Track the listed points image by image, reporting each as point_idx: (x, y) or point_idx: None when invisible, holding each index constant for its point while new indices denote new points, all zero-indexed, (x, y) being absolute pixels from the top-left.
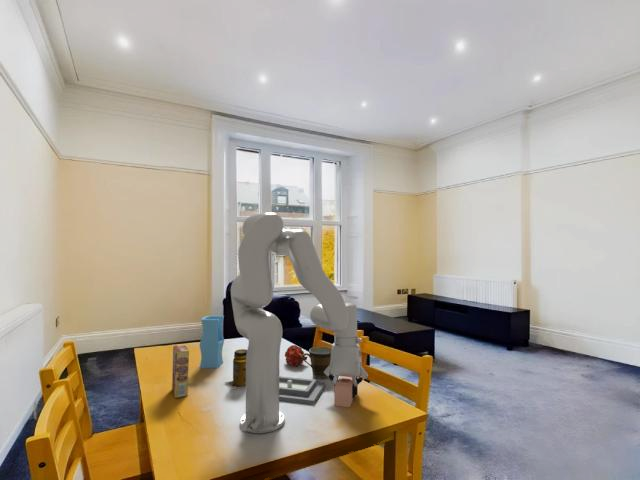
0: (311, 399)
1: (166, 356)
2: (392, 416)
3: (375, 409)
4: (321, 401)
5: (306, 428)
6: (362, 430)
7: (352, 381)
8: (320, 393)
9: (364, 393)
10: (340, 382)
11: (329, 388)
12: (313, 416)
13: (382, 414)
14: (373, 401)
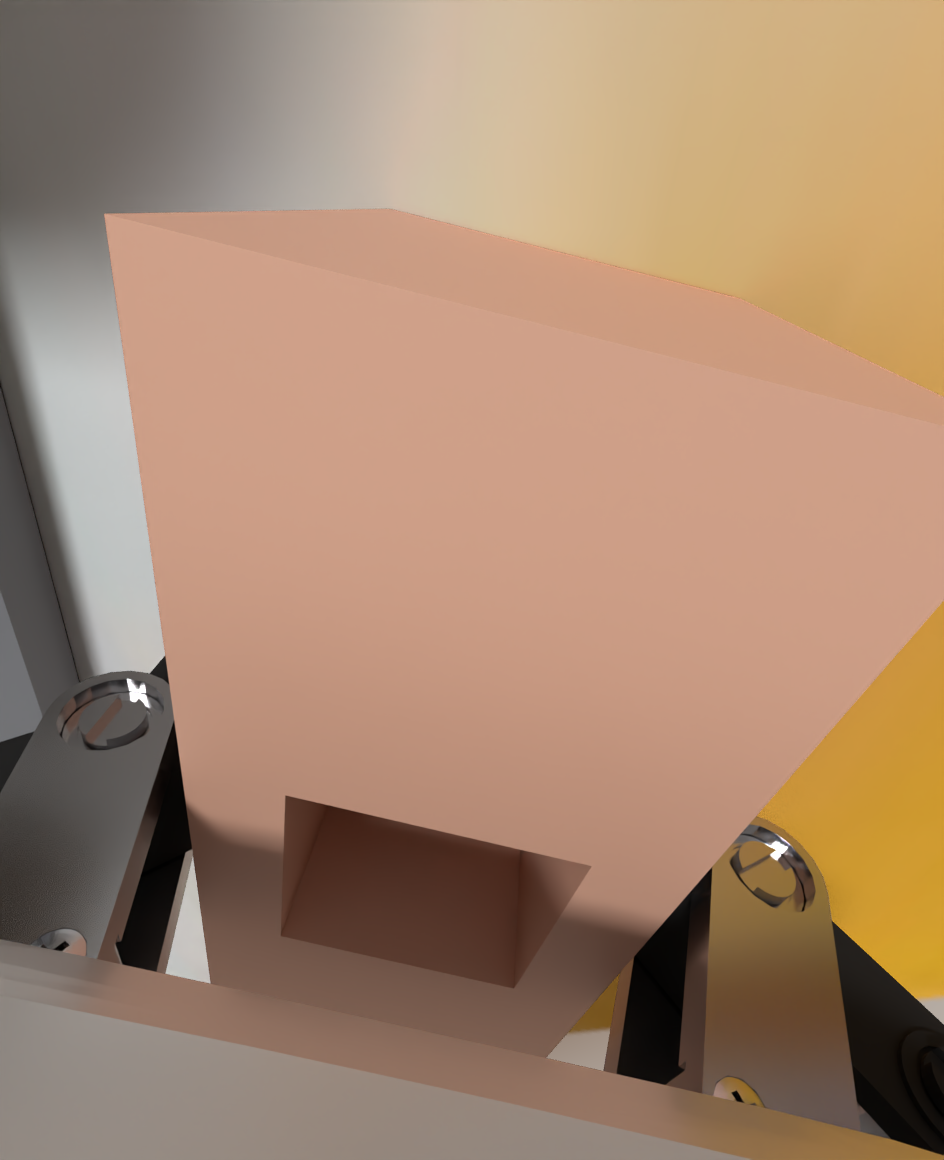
0: (12, 734)
1: None
2: (938, 950)
3: (825, 850)
4: (145, 659)
5: (202, 967)
6: (578, 1021)
7: (609, 969)
8: (2, 416)
9: (931, 366)
10: (295, 968)
11: (49, 45)
12: (189, 881)
13: (851, 920)
14: (922, 690)
